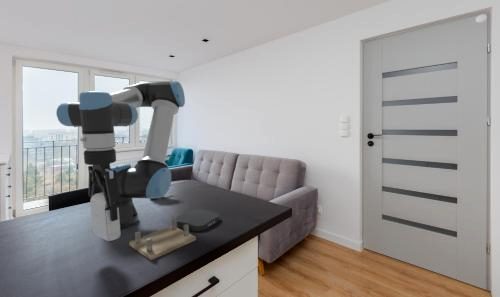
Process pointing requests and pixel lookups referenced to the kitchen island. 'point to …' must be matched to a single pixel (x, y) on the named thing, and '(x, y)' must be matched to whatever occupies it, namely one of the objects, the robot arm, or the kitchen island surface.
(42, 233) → the kitchen island surface
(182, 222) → the media streaming box
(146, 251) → the peg board
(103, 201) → the photo printer
